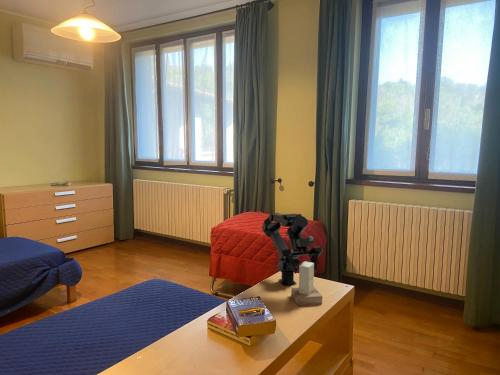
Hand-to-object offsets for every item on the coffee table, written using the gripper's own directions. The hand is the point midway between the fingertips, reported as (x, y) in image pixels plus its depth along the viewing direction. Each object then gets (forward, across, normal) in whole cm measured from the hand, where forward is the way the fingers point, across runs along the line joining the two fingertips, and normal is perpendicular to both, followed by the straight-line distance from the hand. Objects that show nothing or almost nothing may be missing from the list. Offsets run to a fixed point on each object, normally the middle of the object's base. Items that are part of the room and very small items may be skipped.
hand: (306, 272), depth 158 cm
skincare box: (+6, 0, +6) cm, 9 cm away
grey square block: (+9, 0, +9) cm, 13 cm away
